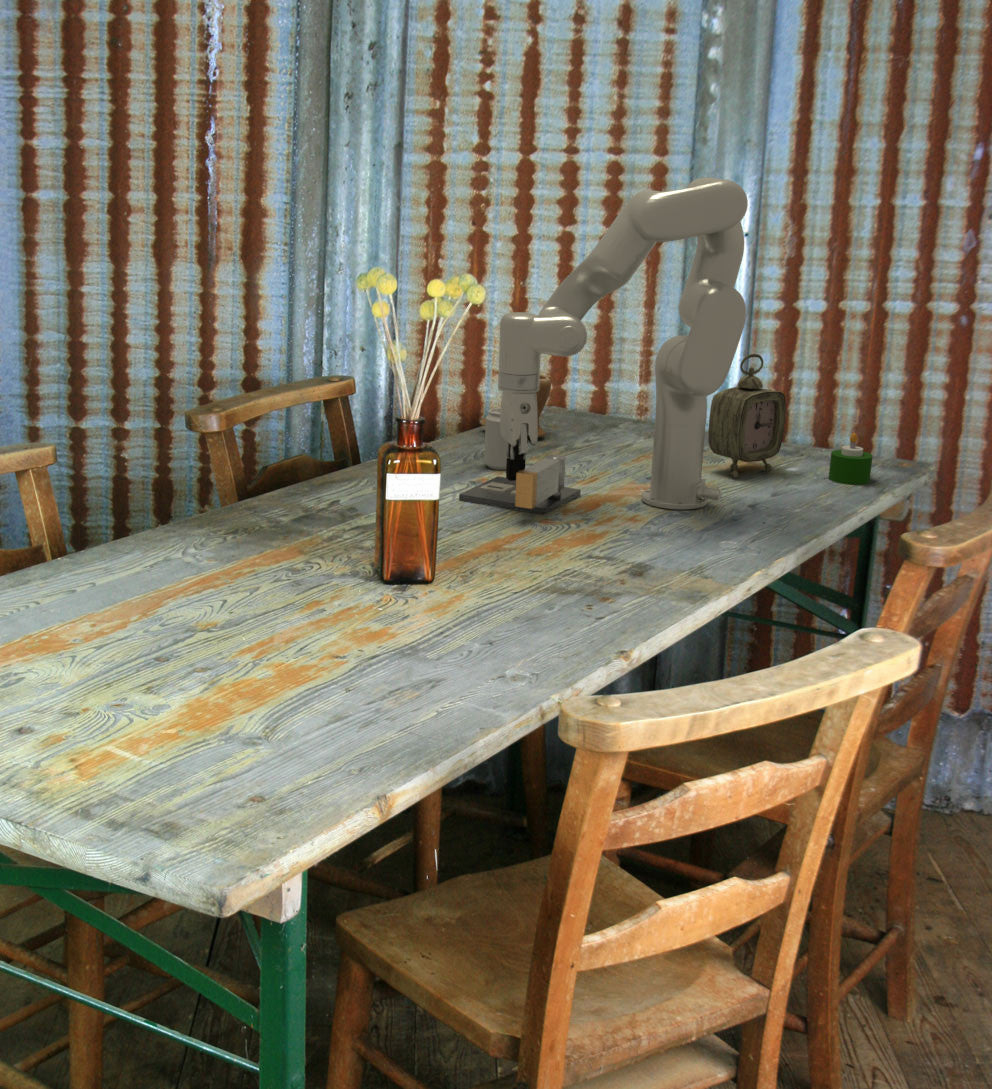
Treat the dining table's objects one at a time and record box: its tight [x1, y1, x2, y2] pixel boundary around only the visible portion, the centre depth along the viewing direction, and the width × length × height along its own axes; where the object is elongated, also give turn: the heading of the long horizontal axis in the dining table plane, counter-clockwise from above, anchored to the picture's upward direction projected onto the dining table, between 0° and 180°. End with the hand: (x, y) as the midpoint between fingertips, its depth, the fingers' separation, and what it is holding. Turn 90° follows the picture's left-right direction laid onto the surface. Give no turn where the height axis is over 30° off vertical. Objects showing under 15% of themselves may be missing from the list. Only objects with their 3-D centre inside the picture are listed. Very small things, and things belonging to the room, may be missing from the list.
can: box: [483, 407, 510, 471], centre depth 275 cm, size 8×8×12 cm
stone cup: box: [480, 373, 552, 438], centre depth 304 cm, size 15×12×15 cm
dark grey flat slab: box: [458, 476, 582, 516], centre depth 254 cm, size 18×16×3 cm
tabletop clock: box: [707, 353, 787, 479], centre depth 275 cm, size 14×9×25 cm, turn 129°
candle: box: [828, 432, 873, 486], centre depth 274 cm, size 8×8×10 cm
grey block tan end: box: [515, 454, 566, 509], centre depth 243 cm, size 17×4×6 cm, turn 156°
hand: (515, 479), depth 247 cm, fingers closed
